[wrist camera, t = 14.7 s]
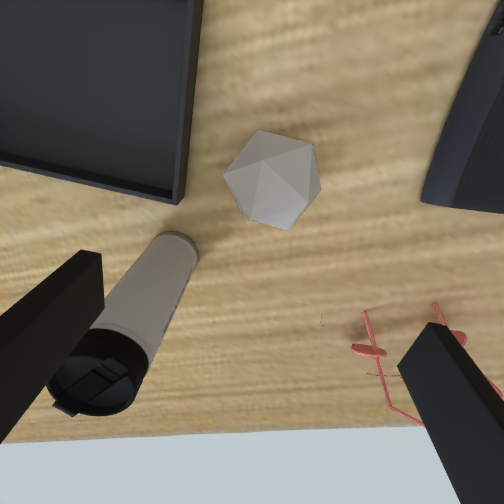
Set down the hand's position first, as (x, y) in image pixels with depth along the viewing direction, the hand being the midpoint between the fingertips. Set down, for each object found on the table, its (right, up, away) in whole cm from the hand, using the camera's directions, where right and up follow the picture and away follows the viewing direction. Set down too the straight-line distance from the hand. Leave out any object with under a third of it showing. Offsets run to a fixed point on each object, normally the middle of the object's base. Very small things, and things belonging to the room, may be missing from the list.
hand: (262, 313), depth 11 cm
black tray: (-18, +19, +16) cm, 31 cm away
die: (+2, +11, +19) cm, 23 cm away
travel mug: (-11, +2, +25) cm, 28 cm away
